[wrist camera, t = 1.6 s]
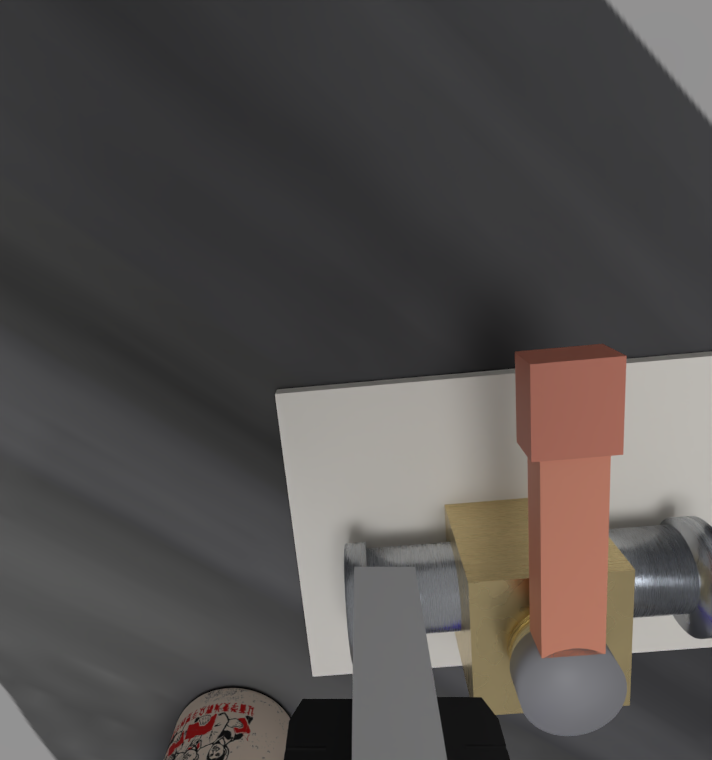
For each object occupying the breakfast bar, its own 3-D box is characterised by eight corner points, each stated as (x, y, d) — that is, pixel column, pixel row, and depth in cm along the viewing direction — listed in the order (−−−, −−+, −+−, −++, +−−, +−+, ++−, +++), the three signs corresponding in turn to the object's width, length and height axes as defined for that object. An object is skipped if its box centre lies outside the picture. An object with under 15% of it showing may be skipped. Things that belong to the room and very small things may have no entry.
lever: (500, 352, 24) (514, 365, 22) (617, 342, 24) (642, 354, 22) (509, 704, 29) (521, 743, 27) (607, 697, 29) (627, 735, 26)
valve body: (344, 512, 36) (340, 603, 27) (676, 485, 35) (778, 569, 27) (356, 622, 38) (355, 738, 29) (670, 598, 37) (762, 709, 29)
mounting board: (277, 389, 35) (274, 394, 34) (732, 349, 34) (743, 353, 33) (313, 665, 40) (312, 676, 39) (708, 636, 39) (717, 646, 38)
